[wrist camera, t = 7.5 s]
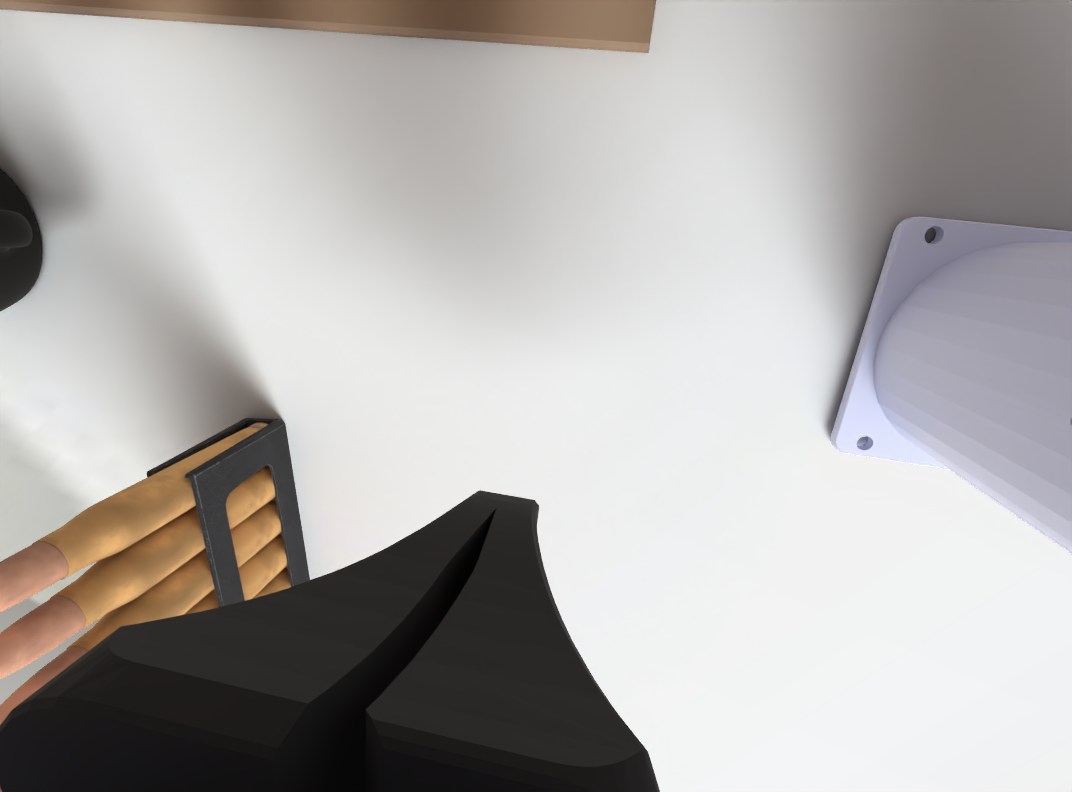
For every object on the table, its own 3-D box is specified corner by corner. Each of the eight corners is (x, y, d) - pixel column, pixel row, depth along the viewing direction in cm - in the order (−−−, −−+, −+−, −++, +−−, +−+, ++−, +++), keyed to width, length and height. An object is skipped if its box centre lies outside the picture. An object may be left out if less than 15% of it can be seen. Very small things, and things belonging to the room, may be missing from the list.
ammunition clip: (246, 416, 22) (-140, 597, 11) (284, 418, 22) (-72, 606, 11) (282, 618, 25) (11, 919, 14) (316, 621, 25) (67, 933, 14)
